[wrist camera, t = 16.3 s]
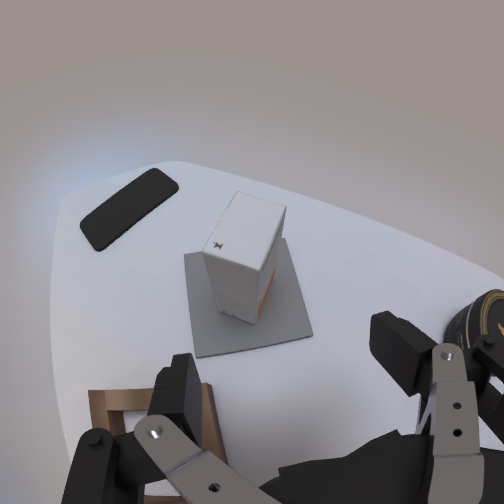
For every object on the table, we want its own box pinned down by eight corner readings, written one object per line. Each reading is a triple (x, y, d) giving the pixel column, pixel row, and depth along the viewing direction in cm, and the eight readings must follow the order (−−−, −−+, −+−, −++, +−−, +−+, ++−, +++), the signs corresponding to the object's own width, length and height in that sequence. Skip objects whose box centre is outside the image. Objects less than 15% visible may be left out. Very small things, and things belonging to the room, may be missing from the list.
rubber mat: (284, 240, 34) (284, 237, 33) (312, 336, 28) (313, 334, 27) (185, 257, 32) (184, 254, 32) (196, 358, 26) (195, 357, 26)
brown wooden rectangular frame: (211, 385, 25) (206, 382, 22) (239, 508, 18) (237, 520, 15) (104, 393, 24) (88, 390, 21) (127, 508, 17) (114, 517, 14)
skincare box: (255, 326, 28) (259, 273, 17) (217, 311, 28) (198, 252, 18) (276, 276, 30) (288, 204, 20) (239, 263, 31) (234, 188, 21)
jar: (493, 372, 23) (532, 357, 17) (445, 394, 23) (488, 384, 16) (480, 306, 28) (514, 282, 22) (432, 317, 28) (469, 292, 22)
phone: (182, 186, 38) (96, 253, 32) (183, 190, 39) (99, 256, 33) (154, 165, 40) (77, 223, 35) (155, 169, 41) (79, 226, 35)
